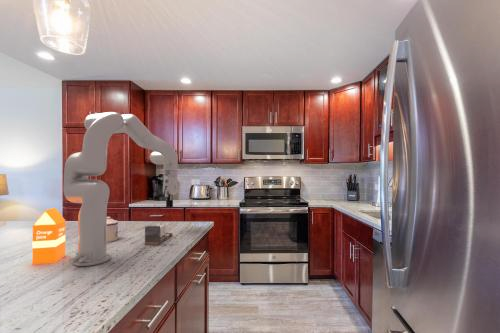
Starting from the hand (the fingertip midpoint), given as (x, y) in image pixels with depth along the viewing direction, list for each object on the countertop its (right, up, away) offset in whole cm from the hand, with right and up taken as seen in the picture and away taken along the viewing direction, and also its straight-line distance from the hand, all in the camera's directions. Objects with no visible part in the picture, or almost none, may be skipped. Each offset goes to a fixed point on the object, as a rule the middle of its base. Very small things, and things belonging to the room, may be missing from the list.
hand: (169, 207), depth 144 cm
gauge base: (-1, -15, -13) cm, 20 cm away
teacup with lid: (-28, -15, -12) cm, 34 cm away
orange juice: (-35, -15, -41) cm, 56 cm away
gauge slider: (-1, -13, -15) cm, 19 cm away
